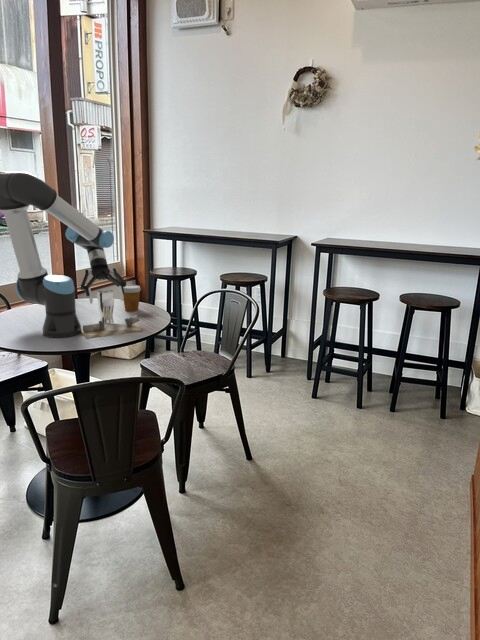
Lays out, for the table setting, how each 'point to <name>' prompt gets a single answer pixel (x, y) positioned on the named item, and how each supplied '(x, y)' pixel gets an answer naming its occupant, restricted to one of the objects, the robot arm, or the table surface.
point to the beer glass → (106, 306)
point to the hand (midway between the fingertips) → (107, 300)
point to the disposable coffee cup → (131, 297)
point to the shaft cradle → (110, 328)
